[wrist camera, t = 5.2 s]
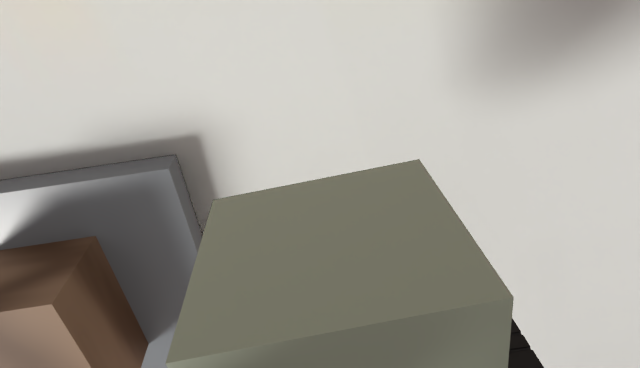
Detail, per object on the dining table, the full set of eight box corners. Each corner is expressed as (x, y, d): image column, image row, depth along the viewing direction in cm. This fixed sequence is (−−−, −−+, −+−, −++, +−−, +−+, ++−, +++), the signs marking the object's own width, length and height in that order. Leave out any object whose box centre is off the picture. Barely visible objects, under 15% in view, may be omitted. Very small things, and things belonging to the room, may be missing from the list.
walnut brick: (95, 235, 20) (51, 304, 16) (148, 343, 24) (123, 419, 20) (-8, 251, 20) (-77, 323, 16) (63, 357, 24) (21, 436, 20)
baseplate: (175, 154, 20) (168, 168, 18) (237, 344, 27) (235, 364, 25) (-116, 197, 19) (-143, 214, 18) (24, 378, 26) (11, 400, 25)
